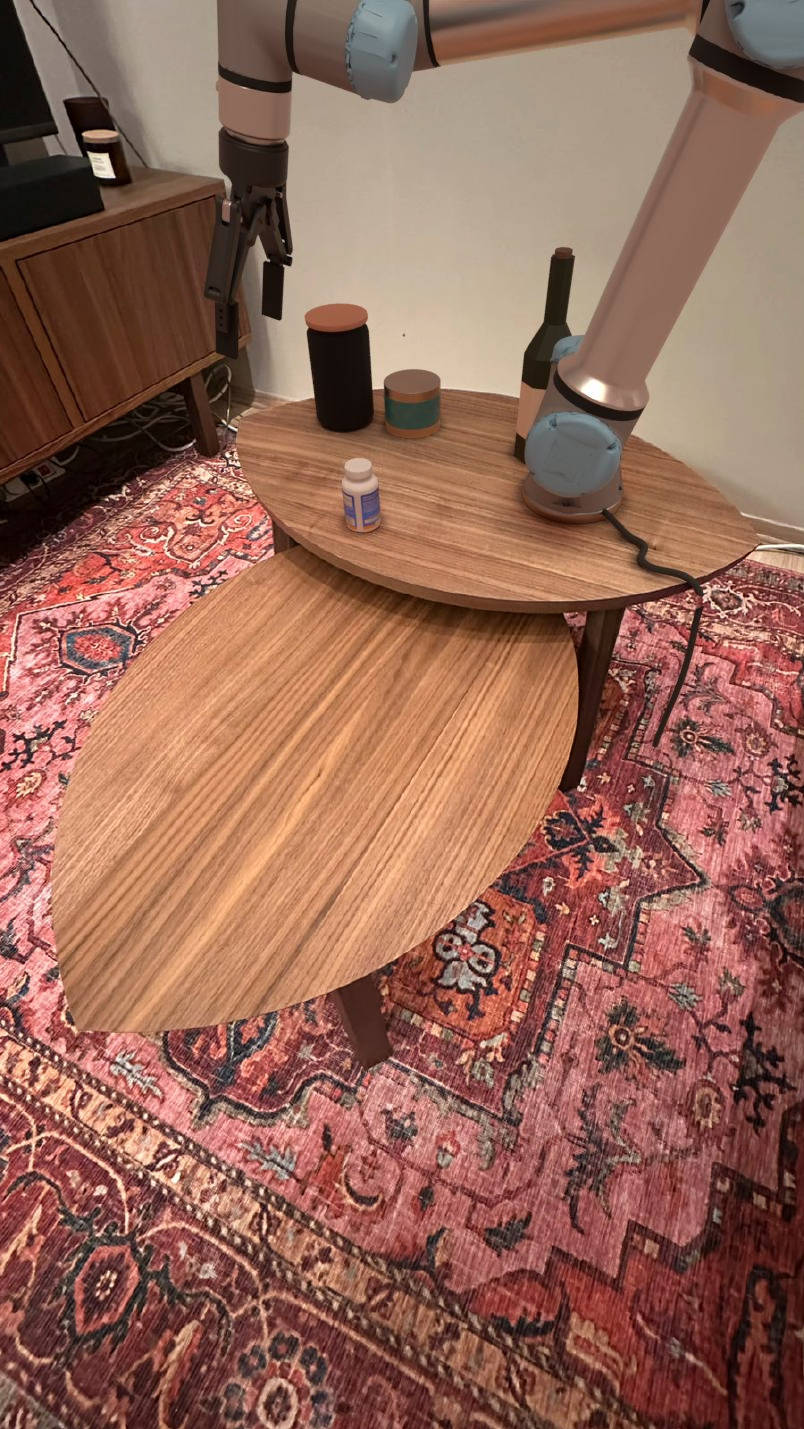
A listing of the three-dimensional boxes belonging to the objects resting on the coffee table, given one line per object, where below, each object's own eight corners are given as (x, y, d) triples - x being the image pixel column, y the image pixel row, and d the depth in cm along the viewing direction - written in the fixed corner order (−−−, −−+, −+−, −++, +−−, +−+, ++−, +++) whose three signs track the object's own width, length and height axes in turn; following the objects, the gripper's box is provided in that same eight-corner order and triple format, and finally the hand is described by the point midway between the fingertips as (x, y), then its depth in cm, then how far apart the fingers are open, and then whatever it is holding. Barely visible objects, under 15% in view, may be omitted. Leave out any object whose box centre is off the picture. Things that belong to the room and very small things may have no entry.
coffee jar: (341, 402, 133) (331, 299, 119) (385, 416, 128) (380, 310, 115) (305, 424, 127) (290, 318, 114) (350, 439, 123) (340, 330, 109)
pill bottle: (383, 514, 106) (379, 455, 99) (378, 534, 103) (375, 474, 95) (348, 513, 107) (342, 454, 100) (343, 533, 103) (336, 473, 96)
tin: (450, 430, 124) (451, 385, 118) (400, 443, 121) (398, 398, 115) (424, 408, 130) (424, 364, 124) (376, 420, 127) (373, 376, 121)
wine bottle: (503, 456, 117) (521, 251, 95) (531, 438, 121) (554, 237, 99) (544, 471, 113) (573, 262, 91) (571, 452, 117) (606, 247, 95)
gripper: (269, 103, 82) (263, 294, 98) (163, 144, 66) (177, 363, 83) (328, 123, 82) (312, 311, 98) (234, 169, 66) (234, 383, 82)
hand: (250, 335), depth 91 cm, fingers open, 13 cm apart
